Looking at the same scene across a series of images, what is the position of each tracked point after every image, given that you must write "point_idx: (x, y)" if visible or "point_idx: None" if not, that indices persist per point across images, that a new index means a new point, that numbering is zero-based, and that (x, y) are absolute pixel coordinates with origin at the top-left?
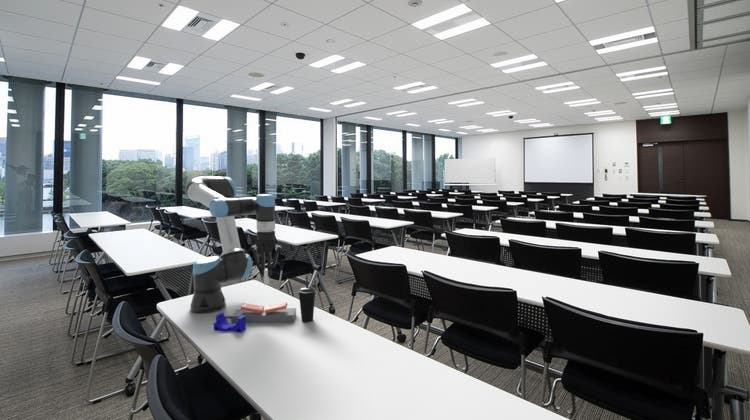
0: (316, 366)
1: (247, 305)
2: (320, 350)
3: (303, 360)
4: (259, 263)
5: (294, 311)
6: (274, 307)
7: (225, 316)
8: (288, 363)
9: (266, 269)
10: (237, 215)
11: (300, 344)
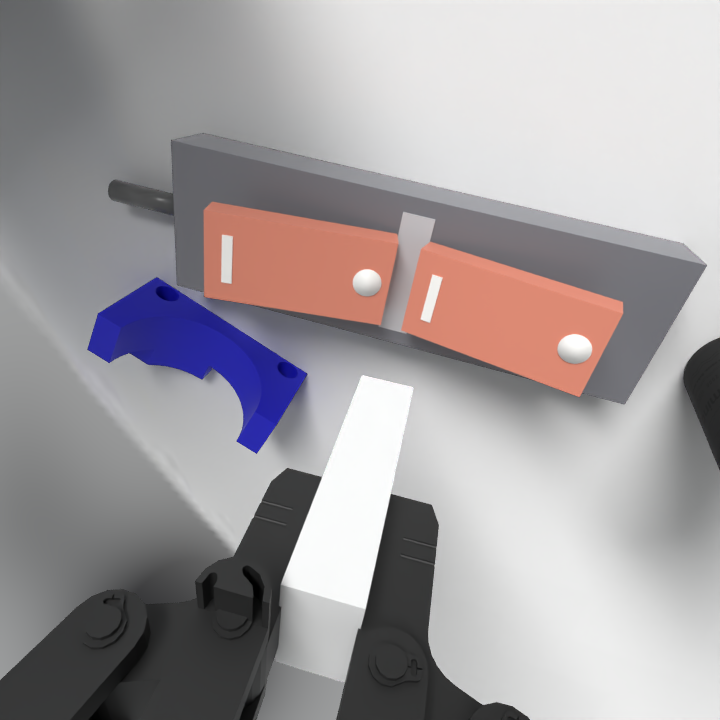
0: (582, 711)
1: (249, 260)
2: (641, 657)
3: (548, 674)
4: (64, 716)
5: (661, 338)
6: (484, 346)
7: (132, 202)
8: (491, 666)
9: (319, 647)
10: None
11: (571, 595)
